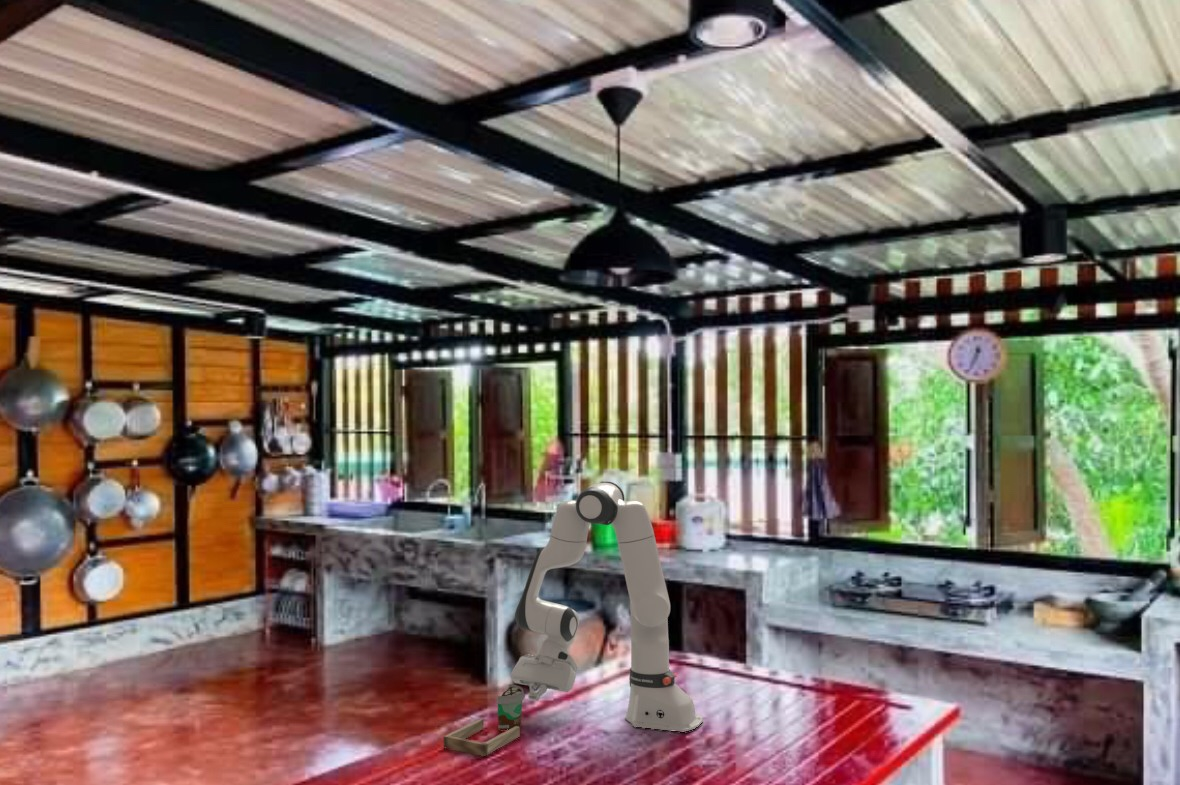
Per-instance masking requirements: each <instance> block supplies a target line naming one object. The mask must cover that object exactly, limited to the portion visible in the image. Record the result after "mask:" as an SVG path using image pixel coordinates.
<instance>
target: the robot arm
mask: <svg viewBox="0 0 1180 785" xmlns="http://www.w3.org/2000/svg"><path fill="white" fill-rule="evenodd" d="M591 524H593V525H595V524H596V525H604V526H609V525H612V527H613V529H614V533H615V536H616V542H617V545H618V550H619V555H620V559H621V564H622V569H623V573H624V578H625V582H626V583H625V584H626V588H627V592H628V596H629V597H628V598H629V601H630V602H629V603H630V604H629V607H630V669H629V678H628V679H629V688H630V693H629V699H628V706H627V710H626V714H625V720H626V721H627V722H629V723H630V724H631V725H632V727H633V726H634V727H633V728H636V727H642V728H641V729H645V728H651V729H650V730H654V729H661V730H660V731H662V730H677V731H688V730H692V729H695V728H696V727H698V726H699V725H700V724H701V723H702V722H703V723H704V718H703V716H702V715H700V714H696V710H695V709H696V708H695V704H694V703H695V702H694V701H693V698H691V696H689V695H688V694H687V693H686V692H685V691H684V690H682V689H681V688H680V686H679V685H677V684H676V683H675V680H676V678H677V677H678V676H677V673H678V672H674V673H673V672H672V671H671V669H670V667H669V666H670V661H669V660H670V657H669V656H670V649H669V648H670V645H669V644H670V640H669V625H668V624H669V623H668V622H669V621H668V619H669V618H668V617H669V616H670V613H671V601H670V597H669V593H668V589H667V588H668V587H667V585H666V581H665V580H666V579H665V576H664V572H663V569H662V568H663V567H662V564H661V559H660V554H659V549H658V545H657V541H656V537H655V533H654V531H655V530H654V528H653V525H652V521H651V518H650V516H649V514H648V511H647V509H646V506H645V504H643V503H642V502H640V501H637V500H625V494H624V491H623V489H622V488H621V487H620V486H619V485H618V484H617V483H615V482H613V481H601V482H599V483H594V484H591V485H589V486H588V487H587V488H584V489H583V490H582V491H581V492H580V493H579V494H578V496H577V499H576V500H575V499H570V500H569V499H568V500H565V501H562V502H561V503H560V504H558V507H557V509H556V511H555V515H554V518H553V521H552V526H551V530H550V537H549V540H548V542H547V544H546V545H545V546H544V547H541V548H539V550H538V551H537V553H536V555H535V557H534V560H533V562H532V564H531V568H530V571H529V574H528V577H527V579H526V582H525V587H524V588H523V592H522V595H521V597H520V599H519V602H518V604H517V606H516V610H515V613H514V619H515V622H516V623H517V625H518V626H519V628H520V629H521V630H522V631H523V630H524V631H529V632H534V633H539V634H543V635H545V638H544V639H543V640H542V642H541V644H540V645H539V647H538V649H537V650H538V651H537V652H536V655H535V654H529V653H528V654H524V655H522V656H520V657H519V659H518V661H517V662H516V664H515V666H514V667H513V669H512V671H511V673H510V677H511V679H512V681H513V682H514V683H515V684H517V685H518V684H519V685H524V686H528V687H529V693H528V695H527V696H528V699H529V700H532V701H540V699H541V697H542V696H543V695H544V694H545V693H547V691H548V690H554V691H559V692H565V693H568V692H570V691H571V690H572V689H573V686H574V683H575V682H576V676H577V673H576V672H577V671H578V668H579V666H578V663H577V661H576V660H575V659H574V657H572V656H573V655H571V654H570V653H569V649H570V647H571V646H572V645H573V643H574V640H575V638H576V635H577V632H578V628H579V624H580V615H579V614H578V612H576V610H574V609H573V608H571V607H570V606H567V605H564V604H560V603H555V602H552V601H548V600H544V599H542V598H540V597H539V593H540V589H541V588H542V585H543V581H544V579H545V576H546V573H547V571H549V570H553V569H560V568H566V567H570V566H572V565H575V564H576V563H578V562H579V561H580V560H581V559H582V558H583V557H584V554H585V551H586V547H587V541H588V534H589V529H590V526H591ZM537 688H539V689H538V691H536V692H535V690H537ZM703 723H702V724H703ZM702 724H701V725H702ZM701 725H700V726H701ZM700 726H699V727H700ZM699 727H698V728H699ZM696 729H697V728H696ZM696 729H695V730H696ZM692 731H693V730H692Z"/></svg>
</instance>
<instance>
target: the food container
mask: <svg viewBox="0 0 1180 785" xmlns="http://www.w3.org/2000/svg"><path fill="white" fill-rule="evenodd" d="M525 695H526V694H525V691H524V689H523V687H522V686H519V685H516V684H508V689H506V690H505V691H503V693H502V694H501V695H497V700H496V704H497V727H498V728H497V729H500V730H507V729H508V730H509V729H511V728H513V727H515V726H520V725H521V724H522V711H523V710H522V709H523V700H525V698H526V696H525ZM521 726H522V725H521ZM521 726H520V727H521Z"/></svg>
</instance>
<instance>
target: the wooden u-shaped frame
mask: <svg viewBox="0 0 1180 785" xmlns="http://www.w3.org/2000/svg"><path fill="white" fill-rule="evenodd" d="M520 728H521V726H520V727H519V726H515V727H513V728H511V729H509V730H507V731H503V732H502V733H499V734H498V735H496V736H494V737H493V738H491V739H488V740H487V741H485V742H482V741H481V742H480V741H475V740H471V739H469V738H470V737H469V736H471V735H472V734H474V733H476V732H478V731H480V730H482V729H483V730H484V718H479V719H477V720H476V719H475V721H472V722H470V723H468V724H466V725H464V726H462V727H460V728H458V729H456V730H454V731H451V732H449V733H448V734H446V735H444V736H443V748H444V747H446V748H445V749H447V748H450V749H449V750H453V751H457V752H461V753H465V754H469V753H471V754H470V755H474V754H476V755H475V756H478V755H481V756H480V757H483V756H486V755H487V756H489V755H491V754H492V753H491V752H493V751H495V750H496V749H498V748H500V747H502V746H504V745H505V744H507V743H509V742H511V741H512V740H514V739H516V738H518V737H521V736H520V734H521V732H520V730H521V729H520ZM468 737H469V738H468ZM471 737H472V736H471ZM466 738H467V739H466ZM518 739H519V738H518ZM516 740H517V739H516ZM511 743H512V742H511ZM509 744H510V743H509ZM507 745H508V744H507ZM504 747H505V746H504ZM502 748H503V747H502ZM500 749H501V748H500ZM498 750H499V749H498ZM495 752H496V751H495ZM490 753H491V754H490ZM493 753H494V752H493ZM488 754H489V755H488ZM487 756H486V757H487Z"/></svg>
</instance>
